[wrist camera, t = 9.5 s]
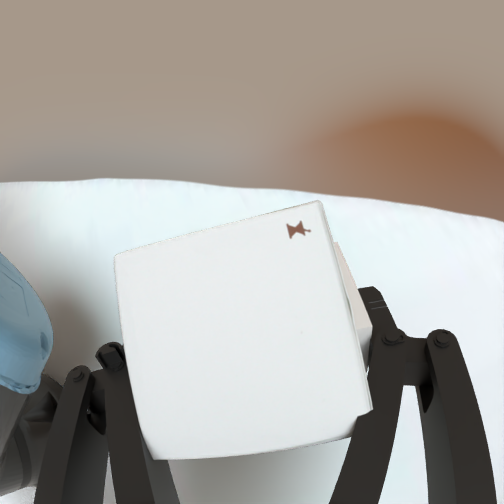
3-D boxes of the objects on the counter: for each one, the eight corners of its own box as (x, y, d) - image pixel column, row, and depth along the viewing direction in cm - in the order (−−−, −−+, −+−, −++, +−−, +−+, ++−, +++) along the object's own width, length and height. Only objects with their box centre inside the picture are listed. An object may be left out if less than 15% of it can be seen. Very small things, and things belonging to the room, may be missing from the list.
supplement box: (207, 296, 22) (108, 245, 10) (311, 274, 21) (327, 191, 9) (226, 399, 20) (142, 463, 8) (334, 378, 19) (383, 431, 7)
